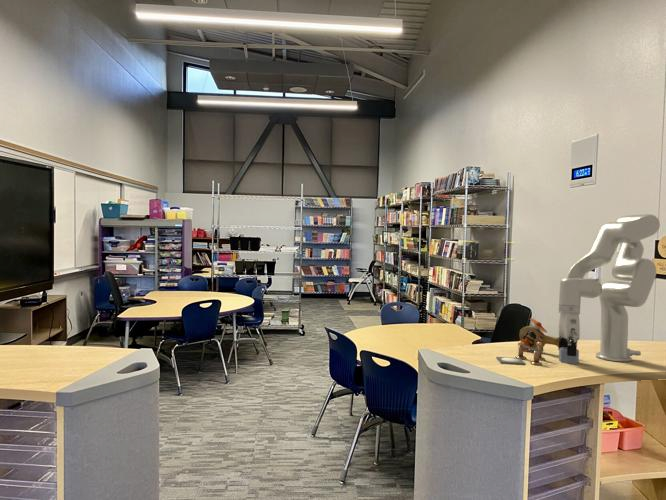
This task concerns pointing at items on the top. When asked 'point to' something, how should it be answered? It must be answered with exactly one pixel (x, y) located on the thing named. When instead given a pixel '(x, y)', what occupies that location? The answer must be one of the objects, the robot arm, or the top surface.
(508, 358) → the pad
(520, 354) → the brown legged frame
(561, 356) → the blue-grey block
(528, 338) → the toy helicopter
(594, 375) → the top surface
